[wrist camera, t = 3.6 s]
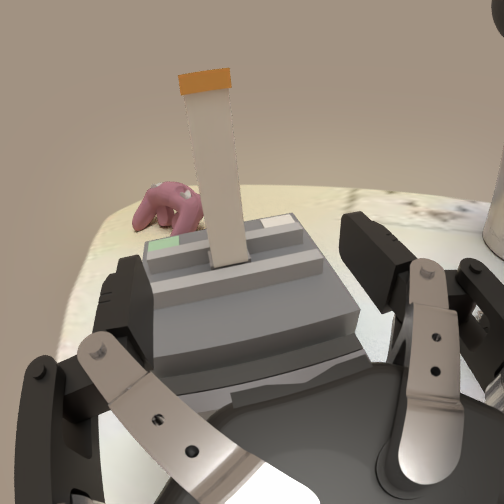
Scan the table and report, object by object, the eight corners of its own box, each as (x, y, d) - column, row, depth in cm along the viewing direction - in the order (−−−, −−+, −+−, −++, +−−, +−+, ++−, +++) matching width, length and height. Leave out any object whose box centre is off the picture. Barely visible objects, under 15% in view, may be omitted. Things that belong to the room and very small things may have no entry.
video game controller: (204, 251, 34) (215, 190, 32) (172, 254, 30) (183, 187, 29) (157, 228, 39) (165, 177, 38) (128, 229, 36) (136, 175, 34)
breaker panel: (293, 237, 32) (292, 199, 29) (353, 336, 20) (364, 293, 18) (153, 266, 30) (140, 228, 27) (150, 383, 18) (125, 346, 16)
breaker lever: (245, 254, 25) (224, 68, 16) (253, 275, 22) (231, 67, 14) (209, 261, 24) (176, 75, 16) (214, 283, 22) (176, 75, 13)
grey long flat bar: (350, 344, 20) (354, 332, 19) (368, 375, 18) (372, 364, 17) (157, 390, 18) (150, 380, 17) (159, 426, 16) (151, 418, 15)
